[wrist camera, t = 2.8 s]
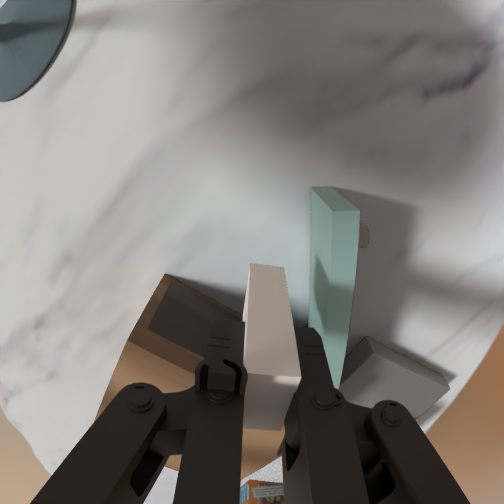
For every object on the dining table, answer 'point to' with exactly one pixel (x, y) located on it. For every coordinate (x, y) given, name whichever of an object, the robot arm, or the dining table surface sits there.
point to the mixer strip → (389, 379)
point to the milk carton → (261, 493)
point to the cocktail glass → (29, 41)
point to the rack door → (333, 271)
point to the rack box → (181, 359)
